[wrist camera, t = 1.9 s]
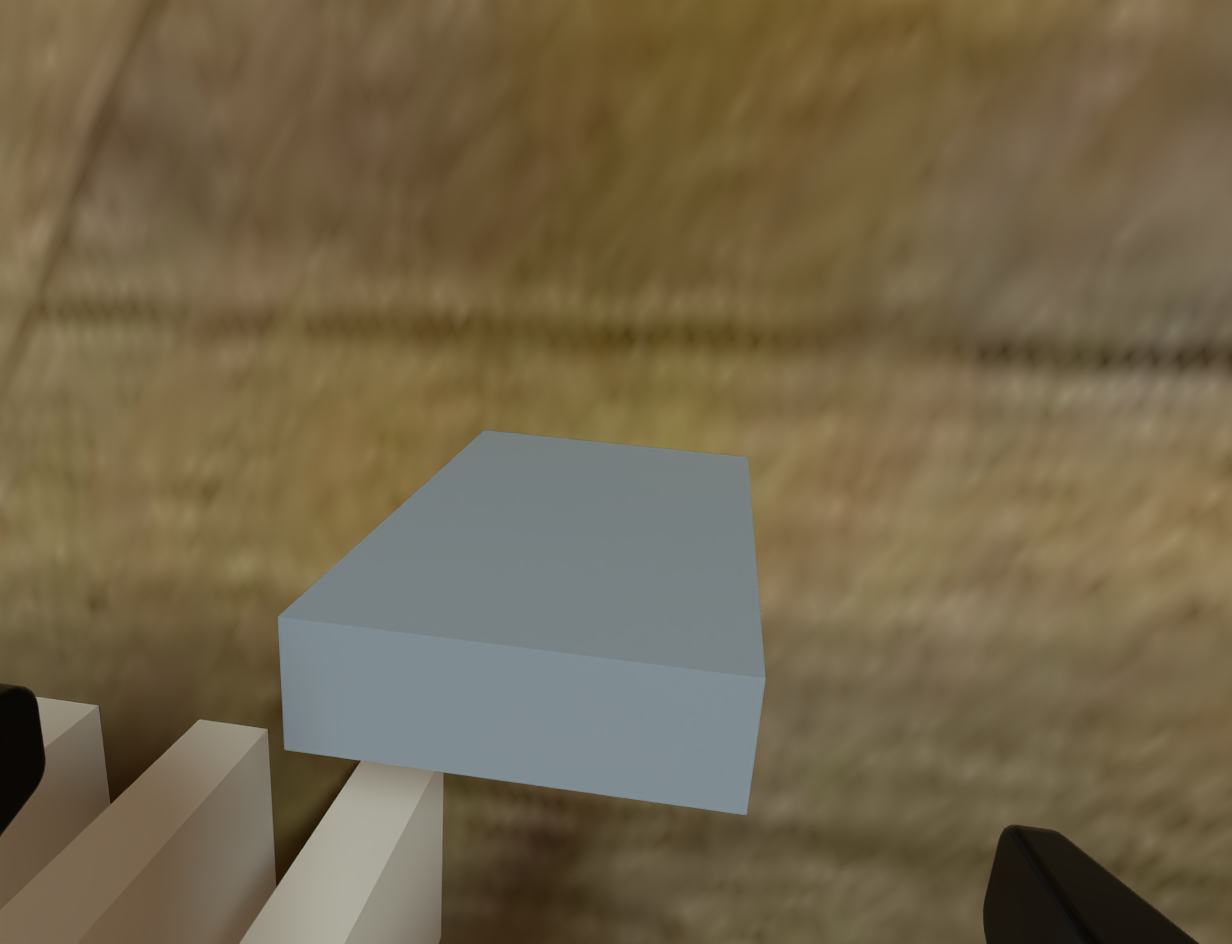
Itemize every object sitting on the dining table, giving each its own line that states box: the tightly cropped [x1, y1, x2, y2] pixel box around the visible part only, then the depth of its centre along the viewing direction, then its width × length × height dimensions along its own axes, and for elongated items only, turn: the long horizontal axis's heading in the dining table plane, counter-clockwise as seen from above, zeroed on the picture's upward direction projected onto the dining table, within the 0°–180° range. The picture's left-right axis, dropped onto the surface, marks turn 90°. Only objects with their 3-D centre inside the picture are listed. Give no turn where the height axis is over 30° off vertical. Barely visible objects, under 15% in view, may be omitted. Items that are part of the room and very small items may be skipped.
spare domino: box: [278, 430, 765, 815], centre depth 13 cm, size 2×5×8 cm, turn 86°
